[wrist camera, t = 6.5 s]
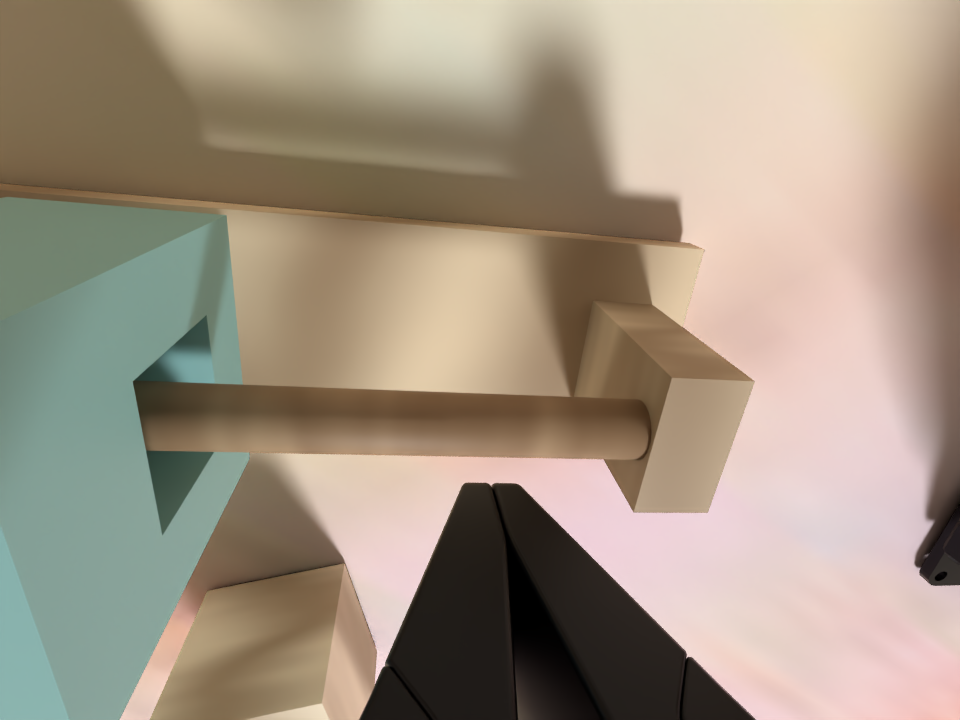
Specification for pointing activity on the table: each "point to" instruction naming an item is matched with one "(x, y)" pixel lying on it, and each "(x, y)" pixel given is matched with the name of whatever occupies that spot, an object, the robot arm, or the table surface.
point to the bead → (101, 442)
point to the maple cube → (275, 653)
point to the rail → (455, 348)
